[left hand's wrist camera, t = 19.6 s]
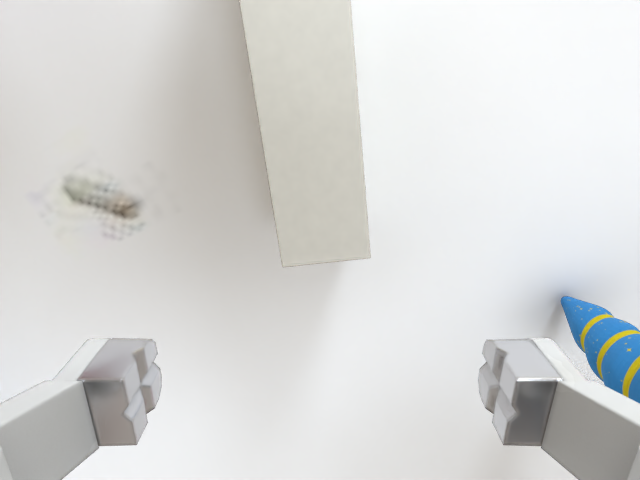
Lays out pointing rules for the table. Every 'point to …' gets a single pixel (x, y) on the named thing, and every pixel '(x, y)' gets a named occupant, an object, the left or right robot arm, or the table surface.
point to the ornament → (606, 345)
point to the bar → (309, 126)
